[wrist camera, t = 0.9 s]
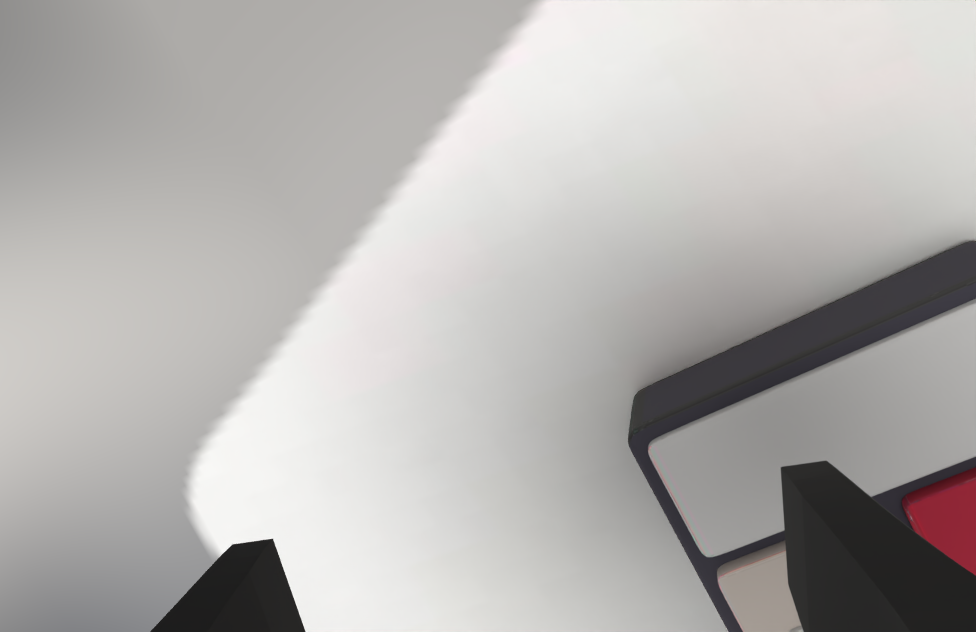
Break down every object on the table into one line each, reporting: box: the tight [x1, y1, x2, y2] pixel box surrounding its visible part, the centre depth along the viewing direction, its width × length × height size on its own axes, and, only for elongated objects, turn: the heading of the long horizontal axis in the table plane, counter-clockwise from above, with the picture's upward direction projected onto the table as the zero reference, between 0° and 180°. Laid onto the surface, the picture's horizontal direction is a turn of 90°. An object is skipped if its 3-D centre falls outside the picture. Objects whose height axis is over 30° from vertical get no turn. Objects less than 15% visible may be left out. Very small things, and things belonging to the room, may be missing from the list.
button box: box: [628, 241, 976, 632], centre depth 26 cm, size 11×4×15 cm
